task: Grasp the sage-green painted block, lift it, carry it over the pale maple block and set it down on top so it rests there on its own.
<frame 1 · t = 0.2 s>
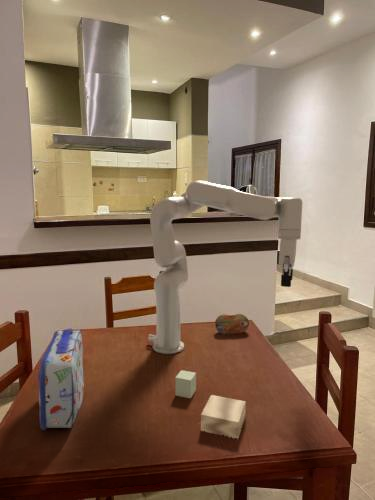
hand: (286, 283, 130), 31 cm above the table, fingers open, 9 cm apart
maple block: (223, 424, 102), on the table
tin: (231, 332, 166), on the table
sage block: (185, 392, 117), on the table
lunch box: (64, 409, 108), on the table
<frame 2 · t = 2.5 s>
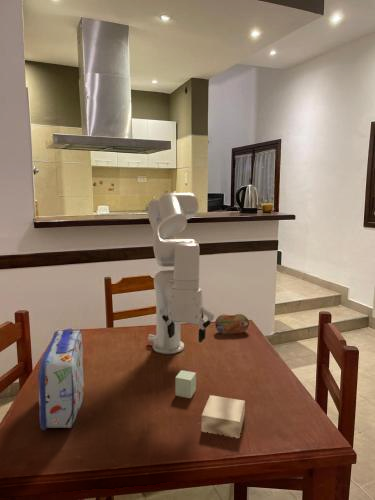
hand: (186, 338, 114), 18 cm above the table, fingers open, 9 cm apart
nothing on the table moved.
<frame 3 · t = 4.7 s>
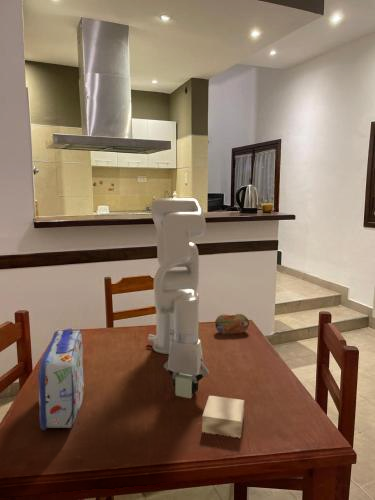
hand: (185, 390, 117), 1 cm above the table, fingers closed on sage block, 5 cm apart
sage block: (185, 392, 117), on the table, touching gripper
everything else where it was.
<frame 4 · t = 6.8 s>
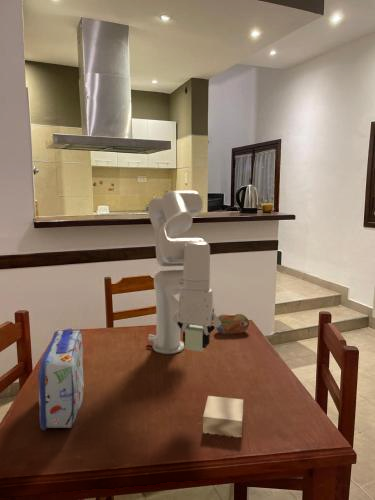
hand: (196, 344, 109), 18 cm above the table, fingers closed on sage block, 5 cm apart
sage block: (196, 347, 110), point 17 cm above the table, touching gripper
everything else where it was.
when the fingers open (7 cm above the table, at t = 9.1 s): sage block drops 1 cm, resting on maple block.
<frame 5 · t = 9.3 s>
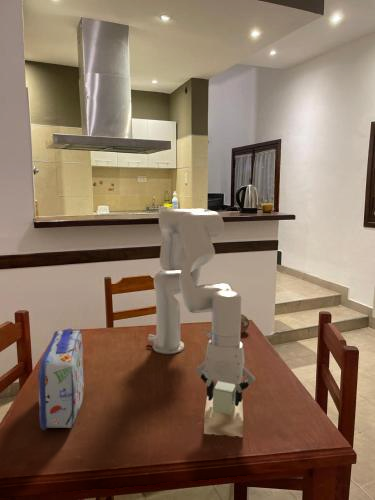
hand: (224, 400, 101), 7 cm above the table, fingers open, 6 cm apart
maple block: (223, 424, 102), on the table, touching sage block
sage block: (224, 407, 101), point 5 cm above the table, touching maple block
everything else where it was.
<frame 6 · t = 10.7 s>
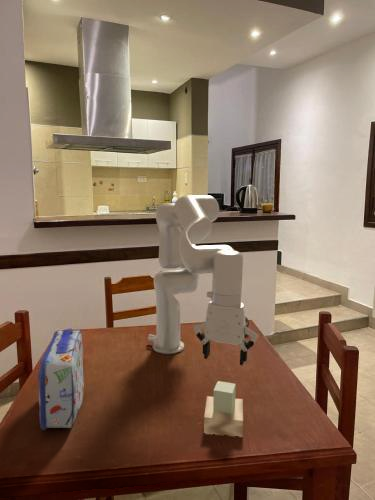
hand: (224, 359, 99), 18 cm above the table, fingers open, 9 cm apart
nothing on the table moved.
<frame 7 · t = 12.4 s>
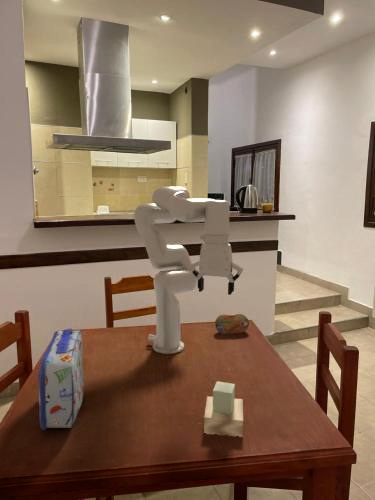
hand: (215, 292, 120), 30 cm above the table, fingers open, 9 cm apart
nothing on the table moved.
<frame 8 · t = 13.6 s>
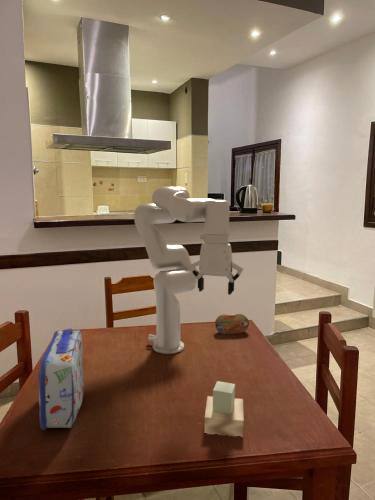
hand: (215, 292, 120), 30 cm above the table, fingers open, 9 cm apart
maple block: (224, 424, 102), on the table
sage block: (223, 407, 101), point 5 cm above the table
everything else where it was.
at the end: sage block inside the target area on the maple block (0.4 cm from its centre), point 5.0 cm above the maple block's base; sage block tilted 0°; the gripper is holding nothing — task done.
